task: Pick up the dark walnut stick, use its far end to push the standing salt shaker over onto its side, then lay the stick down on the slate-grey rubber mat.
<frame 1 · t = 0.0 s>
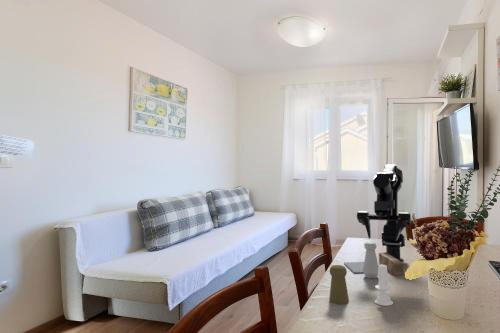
hand: (382, 239, 132), 15 cm above the table, tool tilted 35°, fingers open, 9 cm apart
candle: (383, 303, 112), on the table
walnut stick: (390, 269, 146), on the table
rest mat: (360, 268, 149), on the table
salt shaker: (371, 277, 137), on the table
pepper shaker: (339, 301, 114), on the table
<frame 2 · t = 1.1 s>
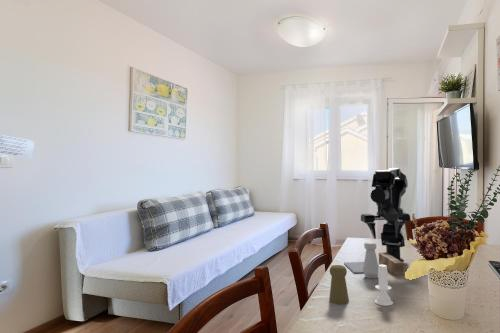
hand: (385, 238, 150), 12 cm above the table, tool pointing down, fingers open, 9 cm apart
nothing on the table moved.
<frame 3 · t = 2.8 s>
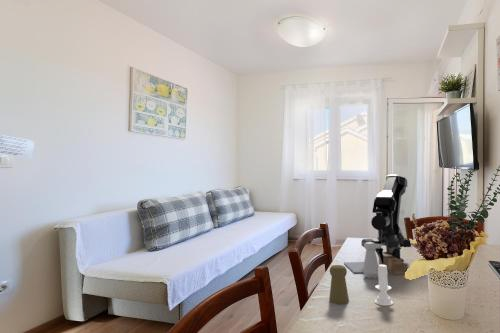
hand: (386, 263, 150), 1 cm above the table, tool pointing down, fingers closed on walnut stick, 3 cm apart
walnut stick: (390, 269, 146), on the table, touching gripper
everything else where it was.
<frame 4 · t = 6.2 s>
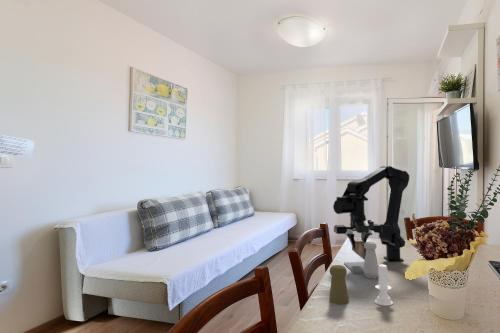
hand: (358, 249, 151), 7 cm above the table, tool pointing down, fingers closed on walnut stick, 3 cm apart
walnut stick: (361, 254, 147), point 6 cm above the table, touching gripper
everything else where it was.
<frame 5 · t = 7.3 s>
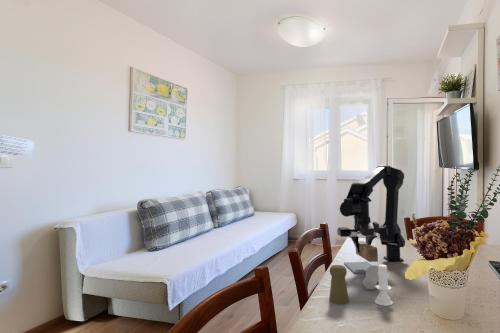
hand: (362, 252, 146), 7 cm above the table, tool pointing down, fingers closed on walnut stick, 3 cm apart
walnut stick: (366, 257, 142), point 6 cm above the table, touching gripper
salt shaker: (376, 270, 133), point 3 cm above the table
everything else where it was.
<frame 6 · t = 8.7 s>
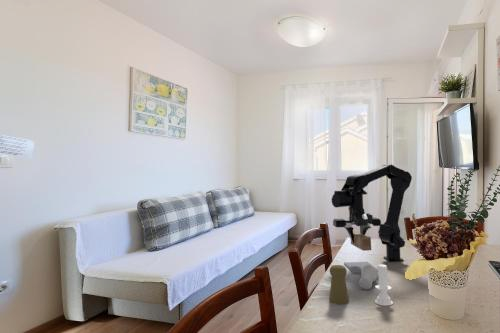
hand: (357, 242, 153), 9 cm above the table, tool pointing down, fingers closed on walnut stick, 3 cm apart
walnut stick: (360, 246, 148), point 9 cm above the table, touching gripper
salt shaker: (370, 270, 134), point 3 cm above the table
everything else where it was.
when the fingers open (3 cm above the table, at t = 10.0 s): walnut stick drops 2 cm, resting on rest mat.
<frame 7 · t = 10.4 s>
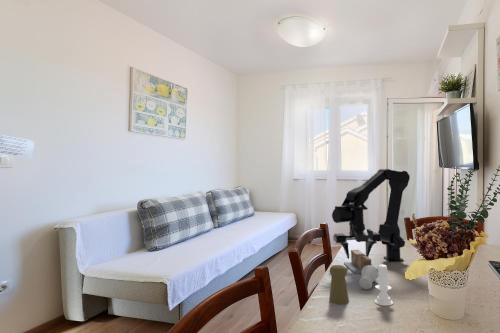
hand: (357, 258, 153), 3 cm above the table, tool pointing down, fingers open, 8 cm apart
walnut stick: (360, 266, 149), point 1 cm above the table, touching rest mat
everything else where it was.
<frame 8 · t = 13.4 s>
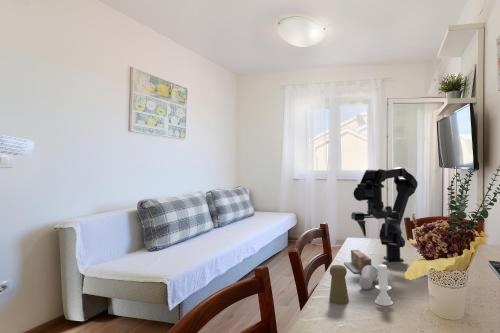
hand: (375, 236, 153), 12 cm above the table, tool pointing down, fingers open, 9 cm apart
nothing on the table moved.
at the end: salt shaker tilted 95°; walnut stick inside the target area (0.1 cm from its centre), point 0.6 cm above the table; the gripper is holding nothing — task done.
